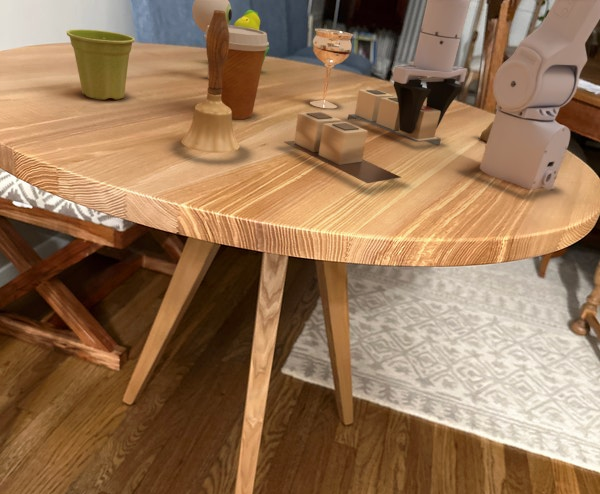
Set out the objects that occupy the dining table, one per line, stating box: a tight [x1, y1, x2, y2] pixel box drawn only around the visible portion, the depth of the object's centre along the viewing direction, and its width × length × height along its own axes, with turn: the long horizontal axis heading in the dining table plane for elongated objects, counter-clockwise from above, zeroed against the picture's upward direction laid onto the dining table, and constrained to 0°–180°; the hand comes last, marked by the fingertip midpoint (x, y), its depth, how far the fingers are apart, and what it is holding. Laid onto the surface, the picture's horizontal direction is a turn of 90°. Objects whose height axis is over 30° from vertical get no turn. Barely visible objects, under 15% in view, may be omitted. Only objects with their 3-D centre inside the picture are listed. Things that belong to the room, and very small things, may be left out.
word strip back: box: [347, 88, 442, 146], centre depth 90 cm, size 15×6×5 cm, turn 39°
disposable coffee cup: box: [203, 24, 270, 120], centre depth 85 cm, size 10×10×12 cm
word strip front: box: [284, 111, 402, 184], centre depth 72 cm, size 16×6×5 cm, turn 39°
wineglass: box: [309, 28, 354, 109], centre depth 99 cm, size 7×7×12 cm
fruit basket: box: [233, 9, 270, 66], centre depth 119 cm, size 11×9×11 cm
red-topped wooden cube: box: [399, 104, 441, 139], centre depth 87 cm, size 4×4×4 cm
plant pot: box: [66, 29, 136, 101], centre depth 85 cm, size 9×9×9 cm
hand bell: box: [181, 10, 241, 154], centre depth 67 cm, size 8×8×16 cm
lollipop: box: [191, 0, 233, 80], centre depth 105 cm, size 7×7×15 cm
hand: (417, 130), depth 88 cm, fingers open, 5 cm apart
